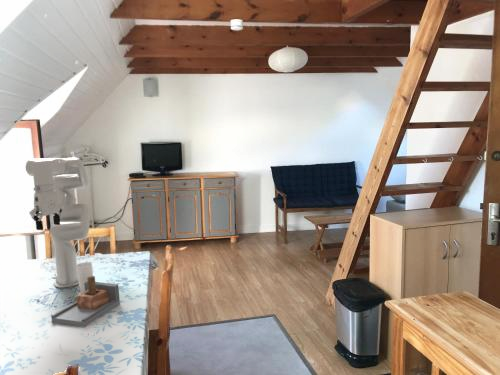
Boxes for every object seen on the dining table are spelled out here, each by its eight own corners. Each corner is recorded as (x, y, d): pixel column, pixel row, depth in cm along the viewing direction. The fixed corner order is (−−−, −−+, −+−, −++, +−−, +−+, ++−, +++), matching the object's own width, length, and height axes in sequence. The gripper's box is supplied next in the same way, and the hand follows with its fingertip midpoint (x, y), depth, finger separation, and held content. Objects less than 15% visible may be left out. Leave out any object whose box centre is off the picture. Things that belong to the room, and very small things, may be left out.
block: (77, 307, 173) (76, 295, 173) (92, 298, 182) (91, 287, 181) (95, 309, 170) (93, 297, 170) (109, 300, 179) (108, 289, 178)
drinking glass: (89, 299, 187) (86, 267, 185) (76, 298, 188) (72, 266, 186) (97, 293, 194) (95, 262, 192) (84, 292, 195) (81, 262, 193)
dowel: (88, 305, 175) (85, 278, 174) (93, 302, 178) (90, 275, 176) (94, 306, 174) (91, 278, 173) (98, 303, 177) (96, 276, 175)
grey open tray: (52, 322, 165) (49, 300, 164) (90, 300, 186) (88, 281, 184) (84, 327, 160) (82, 305, 159) (119, 304, 180) (118, 284, 179)
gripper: (35, 191, 169) (39, 232, 172) (66, 185, 185) (70, 223, 188) (21, 191, 172) (25, 231, 174) (53, 185, 188) (57, 222, 190)
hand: (48, 227), depth 181 cm, fingers open, 9 cm apart
